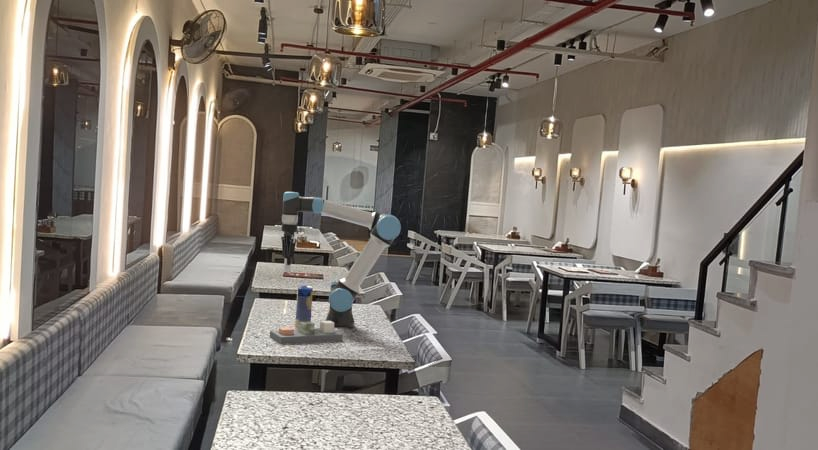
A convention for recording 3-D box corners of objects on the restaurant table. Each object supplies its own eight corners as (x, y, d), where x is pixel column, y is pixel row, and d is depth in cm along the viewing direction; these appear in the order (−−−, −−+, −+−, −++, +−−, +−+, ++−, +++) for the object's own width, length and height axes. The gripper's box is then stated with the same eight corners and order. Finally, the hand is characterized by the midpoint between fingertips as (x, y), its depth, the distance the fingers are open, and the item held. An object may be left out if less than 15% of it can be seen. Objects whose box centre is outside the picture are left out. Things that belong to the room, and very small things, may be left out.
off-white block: (329, 331, 337) (330, 320, 337) (333, 333, 333) (334, 322, 333) (319, 331, 335) (320, 321, 335) (323, 333, 331) (324, 323, 330)
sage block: (309, 332, 332) (310, 321, 332) (313, 334, 328) (314, 323, 328) (299, 332, 330) (300, 321, 329) (303, 334, 325) (304, 324, 325)
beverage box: (308, 330, 352) (311, 286, 351) (309, 335, 341) (312, 289, 340) (294, 329, 351) (297, 285, 350) (295, 334, 340) (298, 288, 339)
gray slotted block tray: (329, 336, 343) (330, 327, 342) (342, 342, 331) (342, 334, 330) (269, 339, 327) (270, 330, 327) (280, 346, 315) (281, 337, 315)
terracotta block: (288, 338, 327) (289, 327, 327) (292, 340, 323) (293, 329, 323) (278, 338, 325) (279, 327, 324) (282, 341, 320) (283, 330, 320)
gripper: (277, 222, 353) (274, 269, 355) (288, 224, 342) (285, 273, 344) (291, 222, 357) (288, 269, 359) (302, 224, 347) (299, 273, 348)
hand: (287, 271), depth 351 cm, fingers closed
